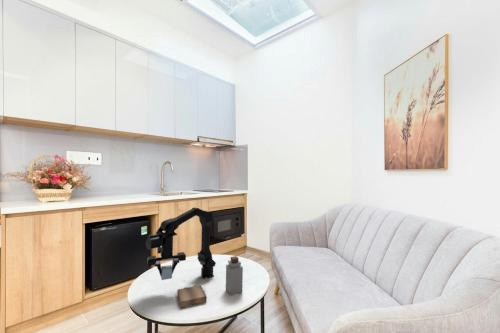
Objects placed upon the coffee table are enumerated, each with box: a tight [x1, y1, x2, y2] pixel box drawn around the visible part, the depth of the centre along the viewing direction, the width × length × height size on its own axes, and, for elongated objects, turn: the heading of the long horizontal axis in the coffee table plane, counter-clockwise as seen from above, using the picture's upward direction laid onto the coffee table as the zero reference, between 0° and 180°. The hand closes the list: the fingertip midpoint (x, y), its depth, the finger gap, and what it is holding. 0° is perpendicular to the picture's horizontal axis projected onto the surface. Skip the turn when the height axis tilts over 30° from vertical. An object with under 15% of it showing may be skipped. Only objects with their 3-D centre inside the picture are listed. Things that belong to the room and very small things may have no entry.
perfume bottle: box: [225, 255, 244, 297], centre depth 121 cm, size 7×7×18 cm
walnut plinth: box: [176, 284, 208, 309], centre depth 113 cm, size 12×12×3 cm
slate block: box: [160, 264, 173, 281], centre depth 118 cm, size 5×5×5 cm
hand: (166, 275), depth 118 cm, fingers closed on slate block, 5 cm apart
